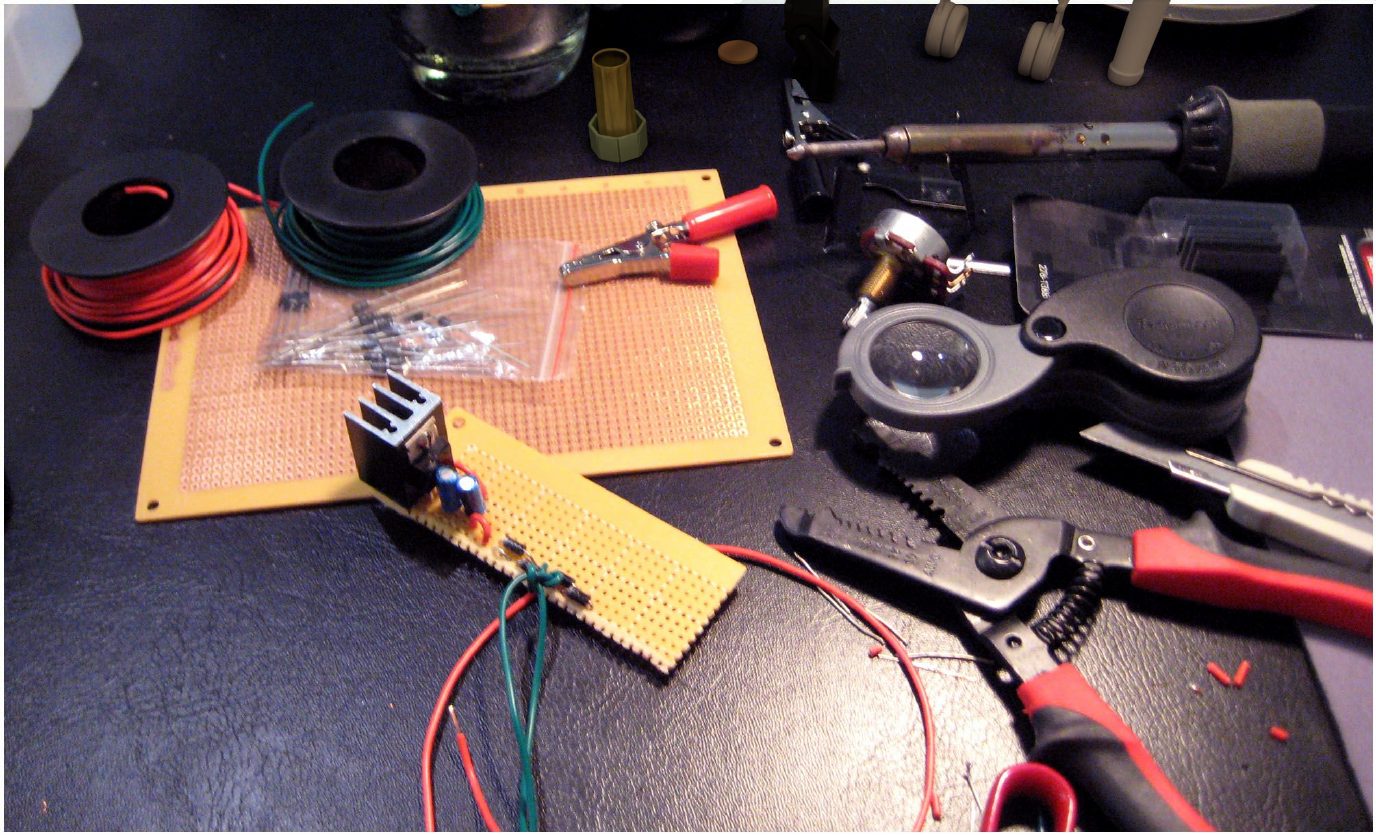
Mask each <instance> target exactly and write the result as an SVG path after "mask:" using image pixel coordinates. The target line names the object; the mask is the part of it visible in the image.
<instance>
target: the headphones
mask: <svg viewBox="0 0 1376 835" xmlns="http://www.w3.org/2000/svg"><path fill="white" fill-rule="evenodd" d="M1070 1H1071V0H1057V3H1058V4H1057V6H1056V7H1055V10H1056V15H1055V19H1054V22H1050V23H1047V22H1045V21H1035V22H1034V23H1033V24H1032V26H1031V27H1030V29H1029V31H1028V33H1027V36H1026V39H1025V42H1024V45H1023V47H1022V50H1021V54H1020V56H1019V61H1018V66H1017V72H1018V74H1020V75H1022V76H1023V77H1024V76H1025V77H1029V76H1030V78H1031V79H1034V80H1036V81H1043V82H1044V81H1045V80H1047V79H1048V78H1049V77H1050V75H1051V73H1052V70H1053V67H1054V65H1055V63H1056V61H1057V60H1056V59H1057V57H1058V54H1059V51H1060V49H1061V45H1062V41H1063V38H1064V34H1065V28H1064V26H1063V24H1062V23H1063V19H1064V14H1065V11H1066V8H1067V6H1068V4H1069V3H1070ZM968 21H969V8H968V7H967V6H965V5H963V4H956V3H955V2H953V1H951V0H939V2H938V3H937V5H936V6H935V8H934V10H933V12H932V14H931V17H930V21H929V23H928V27H927V30H926V35H925V40H924V50H925V52H926V54H927V55H929V56H932V57H943V58H947V59H952V58H954V57H955V56H956V55H957V53H958V51H959V49H960V47H961V45H962V42H963V39H964V37H965V33H966V30H967V26H968Z"/></svg>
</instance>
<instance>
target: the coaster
mask: <svg viewBox="0 0 1376 835" xmlns="http://www.w3.org/2000/svg"><path fill="white" fill-rule="evenodd" d="M758 52H759V51H758V47H757V46H756V45H755V44H754V43H752V42H750V41H747V40H742V39H737V40H736V39H735V40H730V41H726V42H724V43H722V44H721V45H720V46H719V47H718V49H717V56H718V58H719V59H720V60H721V61H723V62H725V63H727V64H731V65H744V64H748V63H750V62H753V61H754V60H755V59H756V58H757V57H758V55H759V54H758Z"/></svg>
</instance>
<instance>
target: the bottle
mask: <svg viewBox="0 0 1376 835" xmlns="http://www.w3.org/2000/svg"><path fill="white" fill-rule="evenodd" d="M1171 1H1172V0H1132V2H1131V5H1130V8H1129V11H1128V14H1127V17H1126V20H1125V22H1124V27H1123V30H1122V32H1121V36H1120V37H1119V38H1120V39H1119V42H1118V45H1117V47H1116V51H1115V54H1114V57H1113V60H1112V61H1111V62H1110V63H1109V66H1108V70H1107V78H1108V80H1109V81H1110V82H1111V83H1113V84H1115V85H1118V86H1123V87H1131V86H1134V85H1136V84H1137V83H1139V81H1141V78H1142V77H1143V75H1144V72H1145V65H1146V62H1147V60H1148V57H1149V55H1150V52H1151V50H1152V48H1153V45H1154V42H1155V41H1156V38H1157V35H1158V34H1159V33H1158V32H1159V30H1160V28H1161V26H1162V22H1163V21H1164V18H1165V15H1166V13H1167V11H1168V9H1169V6H1170V3H1171Z"/></svg>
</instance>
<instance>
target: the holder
mask: <svg viewBox="0 0 1376 835" xmlns="http://www.w3.org/2000/svg"><path fill="white" fill-rule="evenodd" d="M634 109H635V108H634ZM635 117H636V125H637V131H636V132H635V133H632V134H628V135H625V136H622V137H618V138H616V137H611V136H605V135H599V127H598V117H597V112H595V114H594V115H593V117H592V118H591V120H590V121H589V122H588V125H587V126H588V134H589V139H590V140H589V141H590V148H591V149H592V151H593V152H594V154H595V155H596V156H597V158H598V159H600V160H602V161H607V162H613V163H624V162H627V161H630V160H634V159H638V158H640V156H642V155H643V153H644V152H645V150H646V148H647V146H648V142H649V141H648V129H647V121H646V120H647V119H646V118H645V117H644V116H643V115H642V114H641V112H640V111H639V110H638V109H635Z"/></svg>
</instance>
